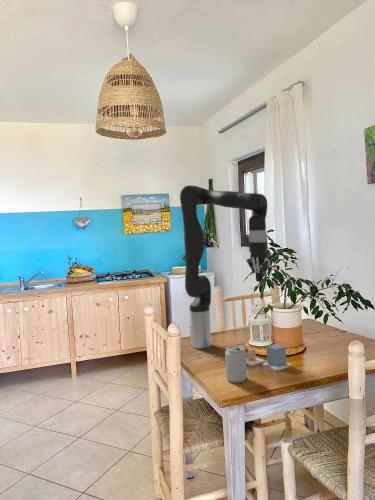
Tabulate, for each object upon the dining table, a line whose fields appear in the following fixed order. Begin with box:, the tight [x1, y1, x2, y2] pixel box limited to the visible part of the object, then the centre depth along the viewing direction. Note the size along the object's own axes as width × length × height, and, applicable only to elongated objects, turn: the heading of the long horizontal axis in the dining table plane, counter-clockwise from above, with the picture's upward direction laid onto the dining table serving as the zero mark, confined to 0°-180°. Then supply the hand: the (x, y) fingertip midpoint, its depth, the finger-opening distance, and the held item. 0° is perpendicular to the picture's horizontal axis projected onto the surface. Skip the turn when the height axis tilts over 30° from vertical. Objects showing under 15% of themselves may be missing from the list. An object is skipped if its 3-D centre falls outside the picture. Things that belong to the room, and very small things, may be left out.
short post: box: [246, 348, 265, 367], centre depth 162 cm, size 7×7×5 cm
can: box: [224, 345, 248, 384], centre depth 144 cm, size 8×8×12 cm
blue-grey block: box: [266, 343, 287, 367], centre depth 156 cm, size 5×5×7 cm
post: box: [261, 361, 293, 372], centre depth 156 cm, size 8×8×7 cm
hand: (259, 281), depth 167 cm, fingers closed
